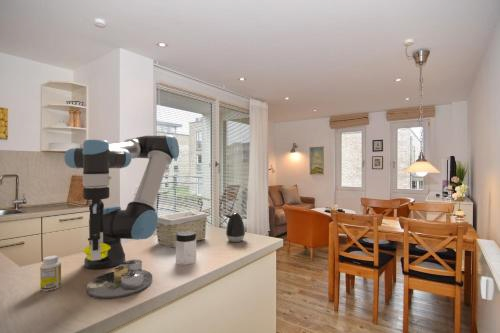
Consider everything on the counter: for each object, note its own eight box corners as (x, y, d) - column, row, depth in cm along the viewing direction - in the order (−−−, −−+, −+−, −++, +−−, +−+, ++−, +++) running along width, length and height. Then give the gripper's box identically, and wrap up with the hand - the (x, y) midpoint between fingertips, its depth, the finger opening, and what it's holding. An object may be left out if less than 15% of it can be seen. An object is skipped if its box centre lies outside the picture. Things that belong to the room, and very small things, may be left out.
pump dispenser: (223, 239, 150) (223, 211, 150) (242, 237, 153) (242, 210, 153) (228, 244, 140) (228, 214, 140) (247, 242, 143) (247, 213, 143)
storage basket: (171, 249, 132) (171, 219, 132) (153, 243, 142) (153, 215, 142) (208, 239, 150) (208, 212, 150) (190, 234, 161) (189, 209, 161)
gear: (103, 250, 95) (78, 257, 89) (103, 240, 95) (78, 246, 89) (115, 255, 91) (90, 262, 84) (115, 244, 91) (90, 251, 84)
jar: (179, 266, 109) (179, 236, 109) (172, 260, 116) (172, 232, 116) (199, 262, 114) (199, 233, 114) (192, 256, 121) (192, 229, 121)
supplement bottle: (54, 283, 94) (53, 253, 94) (65, 285, 92) (64, 255, 92) (36, 290, 89) (36, 259, 89) (47, 293, 87) (47, 261, 87)
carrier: (72, 292, 87) (72, 273, 87) (122, 270, 106) (122, 253, 106) (120, 303, 80) (120, 282, 80) (164, 277, 99) (164, 260, 99)
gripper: (107, 189, 81) (108, 264, 82) (111, 184, 100) (111, 245, 101) (77, 190, 78) (78, 268, 79) (87, 184, 97) (88, 248, 98)
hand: (97, 255), depth 90 cm, fingers closed on gear, 8 cm apart
